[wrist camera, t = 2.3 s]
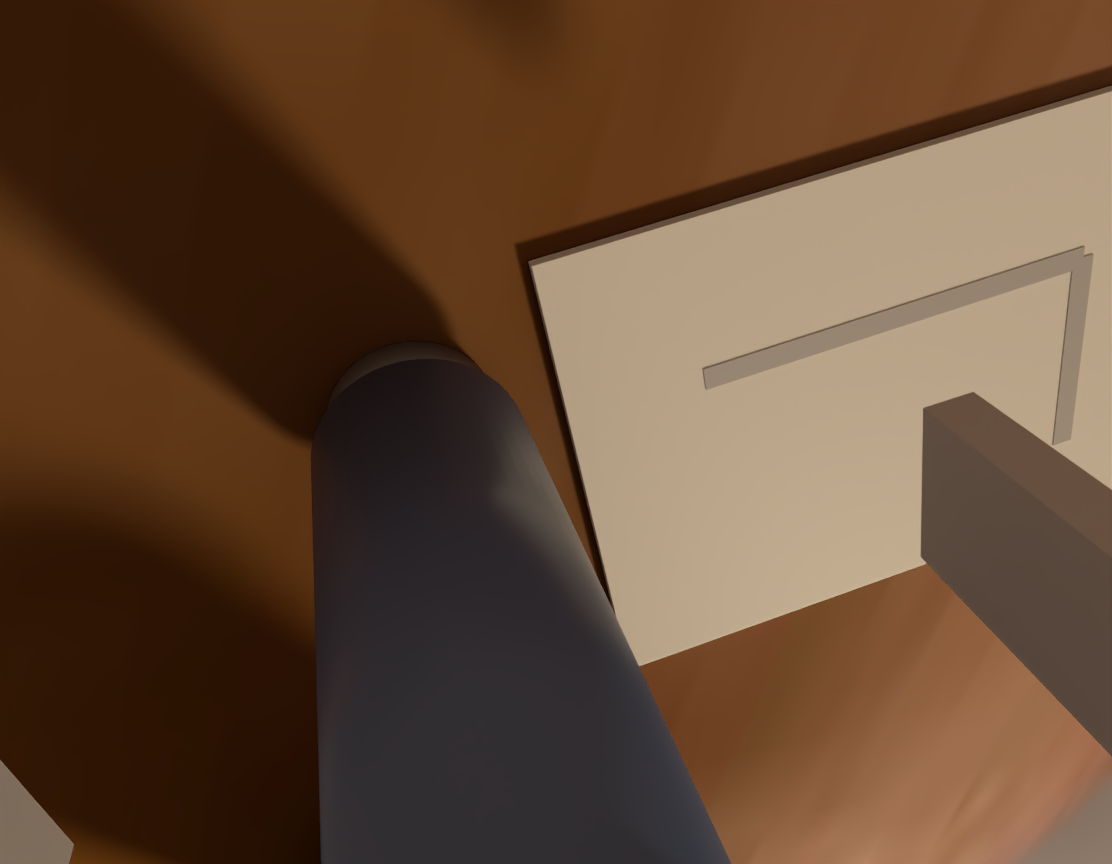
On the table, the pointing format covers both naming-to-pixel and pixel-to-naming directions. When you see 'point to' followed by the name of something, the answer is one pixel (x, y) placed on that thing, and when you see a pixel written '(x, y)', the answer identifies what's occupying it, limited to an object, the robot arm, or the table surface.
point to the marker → (472, 644)
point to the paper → (827, 363)
